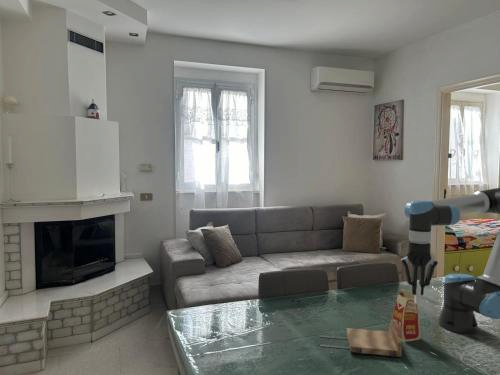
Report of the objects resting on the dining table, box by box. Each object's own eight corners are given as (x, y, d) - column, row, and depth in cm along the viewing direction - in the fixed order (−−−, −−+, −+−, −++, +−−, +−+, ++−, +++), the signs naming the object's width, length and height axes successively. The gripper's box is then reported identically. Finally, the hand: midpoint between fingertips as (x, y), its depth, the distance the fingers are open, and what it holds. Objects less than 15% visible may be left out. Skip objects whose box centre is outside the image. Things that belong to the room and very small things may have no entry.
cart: (391, 336, 151) (392, 323, 150) (401, 357, 133) (402, 344, 133) (346, 332, 154) (346, 320, 153) (350, 353, 136) (350, 339, 136)
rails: (396, 342, 146) (396, 342, 146) (401, 354, 137) (401, 353, 137) (319, 336, 151) (319, 335, 151) (320, 346, 143) (320, 345, 143)
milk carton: (403, 342, 147) (405, 292, 146) (388, 331, 156) (390, 285, 155) (422, 339, 150) (424, 291, 148) (407, 329, 158) (408, 284, 157)
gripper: (434, 240, 141) (432, 300, 142) (399, 238, 143) (396, 298, 145) (441, 244, 134) (438, 308, 135) (403, 242, 136) (401, 305, 137)
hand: (417, 303), depth 140 cm, fingers closed
